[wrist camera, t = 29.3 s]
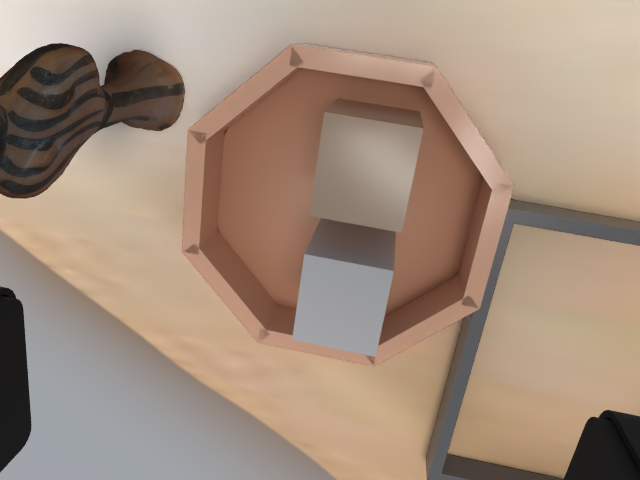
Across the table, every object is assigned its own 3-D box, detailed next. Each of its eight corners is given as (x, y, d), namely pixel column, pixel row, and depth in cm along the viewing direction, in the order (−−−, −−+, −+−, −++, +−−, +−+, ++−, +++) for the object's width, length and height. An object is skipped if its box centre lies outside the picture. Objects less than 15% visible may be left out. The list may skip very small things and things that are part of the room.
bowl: (525, 77, 29) (543, 83, 25) (452, 347, 35) (458, 383, 31) (218, 30, 30) (192, 29, 27) (201, 297, 37) (178, 326, 33)
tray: (761, 242, 30) (784, 256, 28) (637, 504, 37) (649, 528, 35) (497, 197, 31) (502, 207, 30) (425, 458, 39) (427, 480, 37)
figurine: (156, 171, 34) (-84, 302, 17) (85, 132, 34) (-228, 225, 17) (201, 62, 31) (-32, 91, 15) (124, 18, 31) (-203, -3, 14)
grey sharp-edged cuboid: (395, 230, 32) (394, 270, 27) (380, 304, 34) (375, 356, 28) (321, 217, 33) (304, 254, 27) (310, 290, 34) (292, 339, 29)
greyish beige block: (420, 111, 30) (423, 128, 24) (402, 198, 31) (401, 232, 26) (339, 98, 30) (324, 111, 24) (326, 184, 32) (309, 215, 26)
